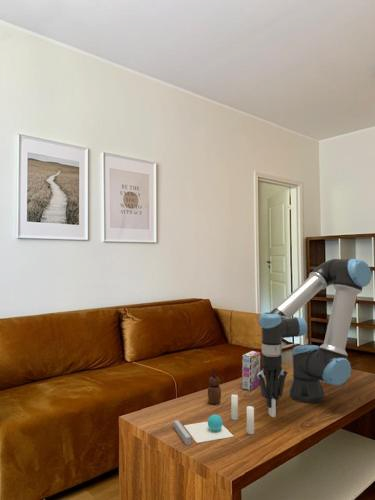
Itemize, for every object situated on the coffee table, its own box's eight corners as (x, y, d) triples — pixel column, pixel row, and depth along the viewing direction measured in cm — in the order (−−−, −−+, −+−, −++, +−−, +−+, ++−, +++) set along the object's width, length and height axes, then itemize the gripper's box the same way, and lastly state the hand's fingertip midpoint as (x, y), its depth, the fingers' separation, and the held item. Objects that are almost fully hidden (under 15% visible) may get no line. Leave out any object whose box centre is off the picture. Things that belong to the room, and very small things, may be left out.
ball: (203, 416, 138) (207, 429, 138) (209, 422, 133) (213, 436, 133) (216, 409, 140) (220, 423, 140) (222, 415, 135) (227, 429, 135)
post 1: (236, 416, 148) (236, 393, 148) (239, 419, 146) (239, 396, 146) (230, 417, 147) (230, 394, 147) (233, 420, 145) (233, 397, 145)
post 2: (251, 430, 136) (251, 405, 136) (255, 433, 134) (255, 408, 134) (245, 431, 135) (245, 406, 136) (249, 434, 133) (248, 409, 133)
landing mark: (217, 420, 145) (217, 419, 145) (233, 436, 132) (233, 436, 132) (183, 425, 140) (183, 425, 140) (196, 443, 127) (196, 442, 127)
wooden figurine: (207, 399, 166) (207, 365, 167) (220, 399, 166) (220, 365, 166) (208, 405, 159) (207, 370, 160) (221, 405, 159) (221, 370, 160)
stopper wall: (178, 426, 139) (177, 420, 139) (190, 444, 126) (190, 436, 126) (173, 427, 139) (173, 420, 139) (186, 445, 126) (186, 437, 126)
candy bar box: (251, 391, 176) (251, 356, 177) (241, 389, 179) (241, 355, 180) (261, 384, 185) (260, 351, 186) (251, 383, 188) (251, 350, 189)
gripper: (262, 358, 140) (262, 421, 139) (291, 355, 144) (292, 416, 143) (252, 353, 147) (252, 414, 146) (280, 350, 151) (281, 409, 150)
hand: (272, 415), depth 145 cm, fingers closed
